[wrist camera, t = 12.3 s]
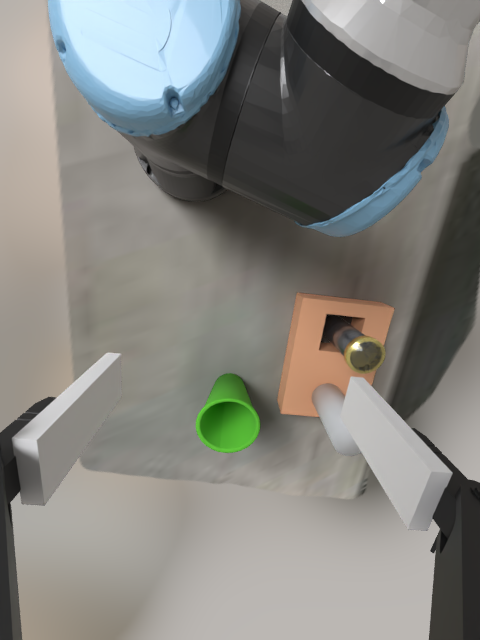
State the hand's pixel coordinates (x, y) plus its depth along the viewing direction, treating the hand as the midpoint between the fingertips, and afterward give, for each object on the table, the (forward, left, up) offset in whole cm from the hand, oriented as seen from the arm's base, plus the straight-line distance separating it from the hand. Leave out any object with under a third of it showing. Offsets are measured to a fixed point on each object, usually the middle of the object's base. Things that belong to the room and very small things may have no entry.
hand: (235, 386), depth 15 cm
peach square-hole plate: (+9, +17, -29) cm, 35 cm away
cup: (+17, +1, -29) cm, 34 cm away
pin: (+4, +17, -29) cm, 34 cm away
